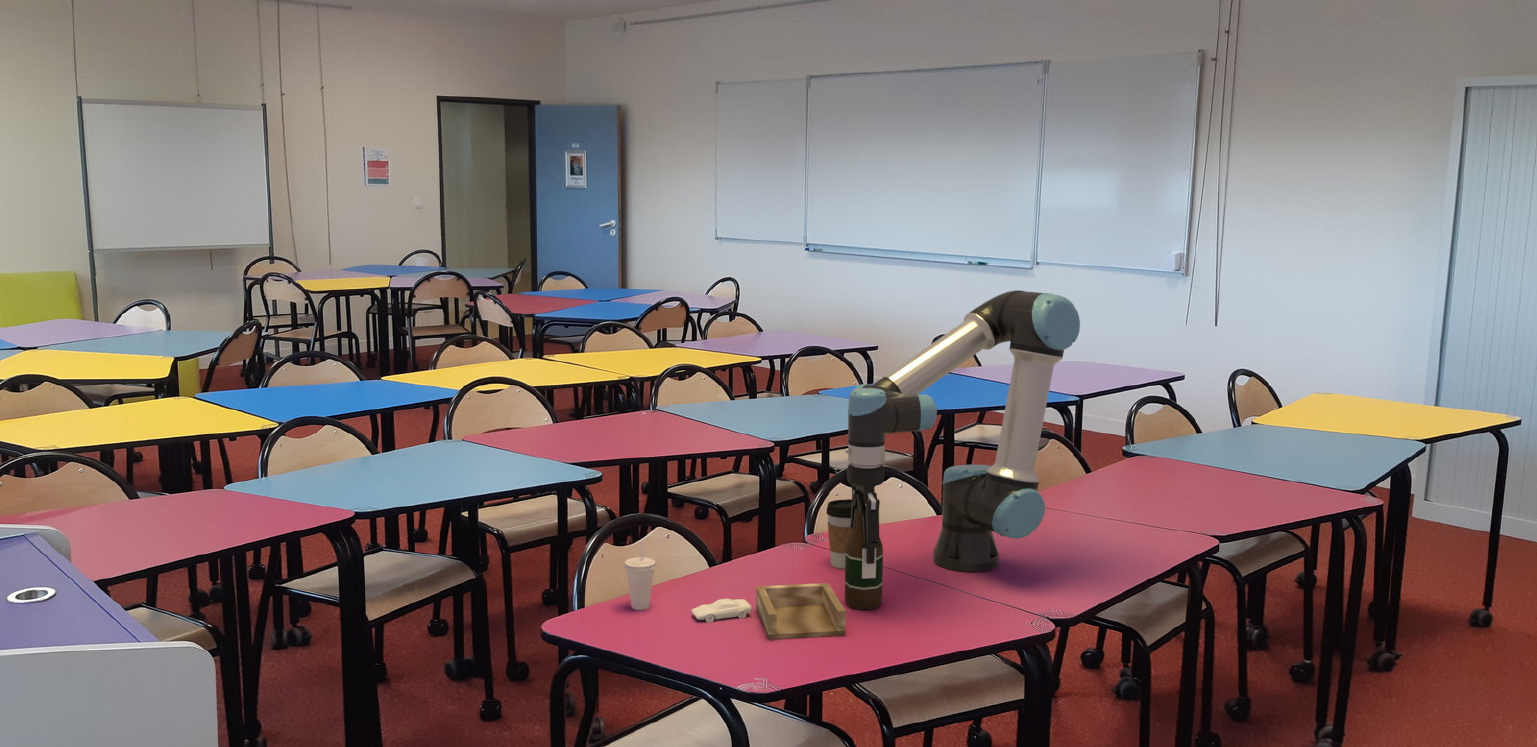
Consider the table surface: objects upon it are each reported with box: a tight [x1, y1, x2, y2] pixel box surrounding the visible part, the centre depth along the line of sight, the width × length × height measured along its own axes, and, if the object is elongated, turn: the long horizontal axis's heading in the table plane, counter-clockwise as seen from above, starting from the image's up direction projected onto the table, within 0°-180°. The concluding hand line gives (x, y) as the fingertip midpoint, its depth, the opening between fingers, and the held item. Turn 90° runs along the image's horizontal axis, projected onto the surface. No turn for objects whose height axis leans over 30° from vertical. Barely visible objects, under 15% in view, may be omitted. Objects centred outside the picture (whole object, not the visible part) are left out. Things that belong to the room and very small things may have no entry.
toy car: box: [691, 598, 753, 623], centre depth 222 cm, size 6×12×3 cm, turn 111°
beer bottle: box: [844, 492, 884, 611], centre depth 228 cm, size 8×8×24 cm
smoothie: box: [624, 539, 657, 611], centre depth 226 cm, size 6×6×14 cm
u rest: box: [755, 582, 847, 641], centre depth 219 cm, size 15×16×5 cm
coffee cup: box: [826, 498, 853, 570], centre depth 254 cm, size 8×8×15 cm
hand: (863, 570), depth 228 cm, fingers closed on beer bottle, 7 cm apart
